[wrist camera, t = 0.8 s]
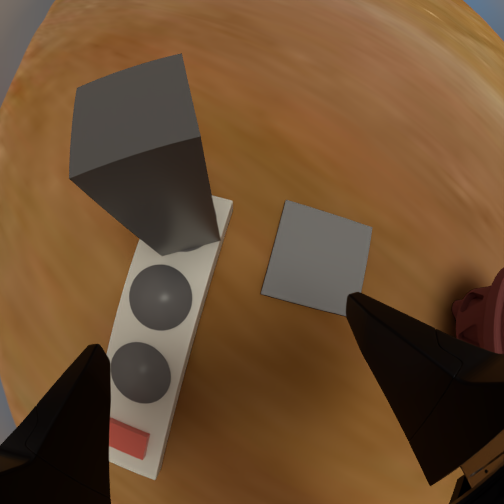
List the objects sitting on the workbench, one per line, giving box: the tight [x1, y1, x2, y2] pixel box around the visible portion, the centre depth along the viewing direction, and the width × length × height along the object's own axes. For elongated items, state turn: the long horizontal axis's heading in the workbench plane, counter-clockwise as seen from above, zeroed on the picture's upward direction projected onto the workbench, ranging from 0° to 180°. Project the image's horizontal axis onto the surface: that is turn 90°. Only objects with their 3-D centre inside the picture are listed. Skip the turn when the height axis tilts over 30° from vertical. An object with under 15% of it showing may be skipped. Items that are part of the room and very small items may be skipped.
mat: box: [261, 200, 372, 316], centre depth 23 cm, size 8×8×1 cm
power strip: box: [107, 196, 233, 480], centre depth 20 cm, size 24×6×3 cm, turn 164°
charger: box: [69, 53, 221, 256], centre depth 15 cm, size 5×4×13 cm
